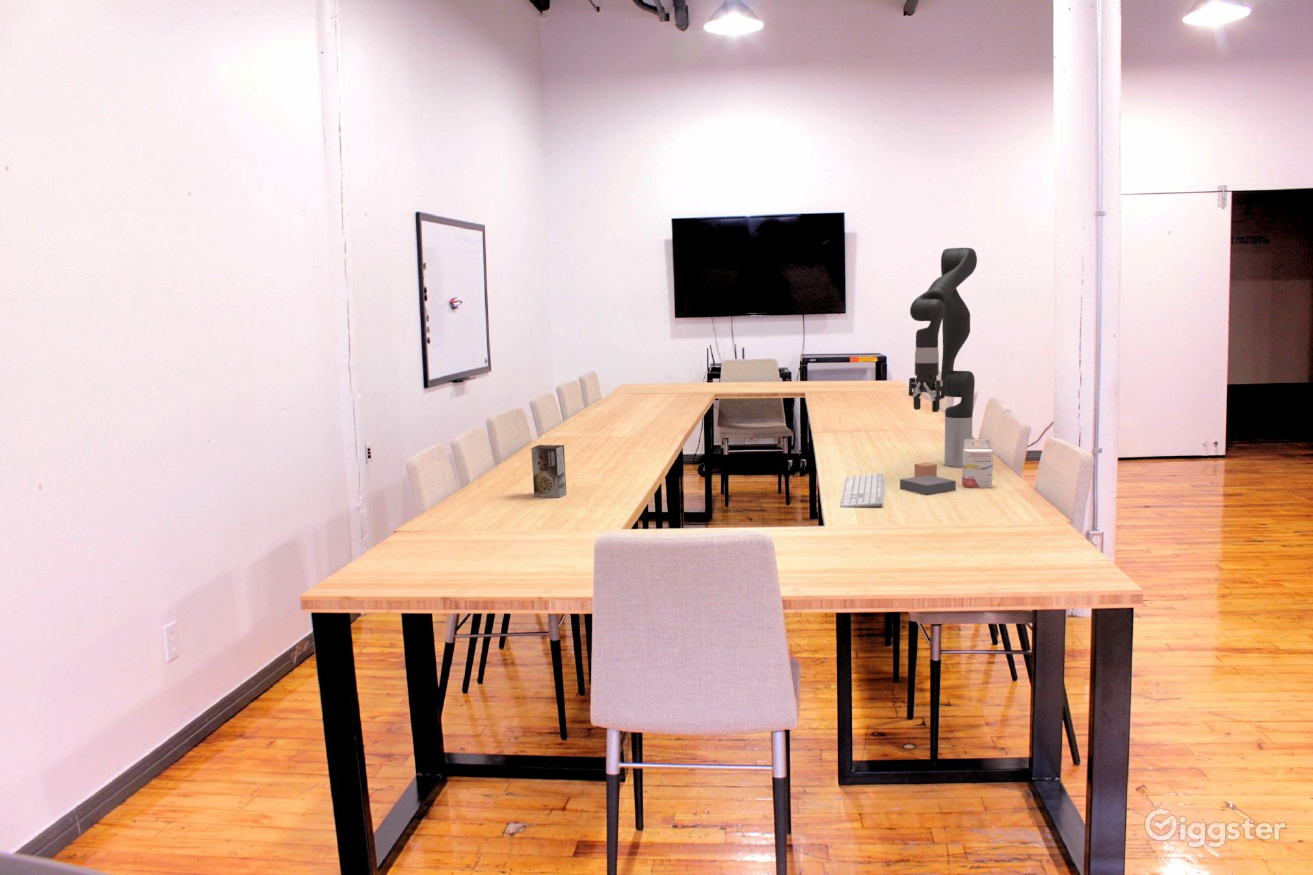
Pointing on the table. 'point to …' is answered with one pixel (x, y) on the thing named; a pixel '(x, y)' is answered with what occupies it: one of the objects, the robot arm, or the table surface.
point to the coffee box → (548, 470)
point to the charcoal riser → (927, 484)
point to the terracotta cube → (925, 469)
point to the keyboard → (863, 491)
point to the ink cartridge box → (977, 464)
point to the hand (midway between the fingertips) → (926, 410)
